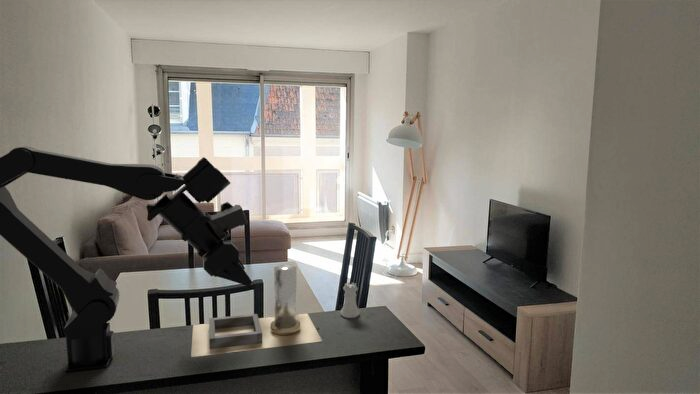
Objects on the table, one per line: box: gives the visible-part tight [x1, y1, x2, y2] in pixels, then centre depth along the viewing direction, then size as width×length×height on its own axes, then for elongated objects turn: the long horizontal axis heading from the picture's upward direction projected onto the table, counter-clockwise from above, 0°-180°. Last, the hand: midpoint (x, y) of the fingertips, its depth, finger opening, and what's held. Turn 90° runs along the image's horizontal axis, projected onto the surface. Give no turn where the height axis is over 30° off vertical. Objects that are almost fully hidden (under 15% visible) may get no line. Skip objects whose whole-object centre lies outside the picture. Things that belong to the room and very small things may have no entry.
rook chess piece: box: [340, 281, 361, 319], centre depth 101 cm, size 4×4×8 cm
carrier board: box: [190, 313, 323, 358], centre depth 91 cm, size 24×14×3 cm, turn 107°
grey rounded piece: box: [271, 264, 300, 336], centre depth 92 cm, size 6×6×13 cm
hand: (246, 276), depth 89 cm, fingers open, 9 cm apart
